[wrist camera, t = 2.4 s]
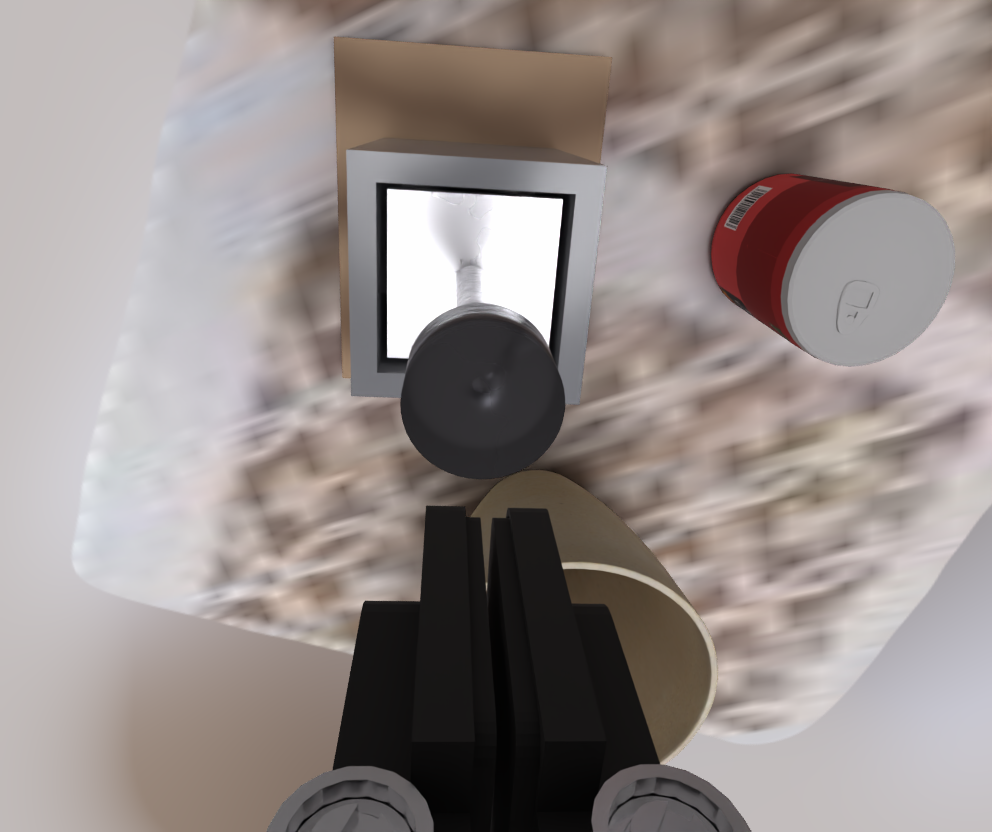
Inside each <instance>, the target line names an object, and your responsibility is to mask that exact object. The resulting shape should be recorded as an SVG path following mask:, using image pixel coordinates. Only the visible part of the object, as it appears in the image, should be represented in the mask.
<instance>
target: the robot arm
mask: <svg viewBox="0 0 992 832" xmlns="http://www.w3.org/2000/svg"><path fill="white" fill-rule="evenodd" d="M267 832H751V830H750V828H749V827H748V825H747V823H746V821H745V820H744V818H743V817H742V816H741V814H740V813H739V812H738V811H737V809H736V808H735V807H734V805H733V804H732V803H731V801H730V800H729V799H728V798H727V797H726V796H725V795H723V794H722V793H721V792H720V791H719V790H717V789H716V788H715V787H714V786H712V785H711V784H710V783H709V782H707V781H705V780H704V779H702V778H700V777H698V776H696V775H694V774H692V773H690V772H688V771H686V770H682V769H678V768H674V767H670V766H667V765H663V764H660V761H659V758H658V755H657V752H656V749H655V746H654V743H653V740H652V737H651V734H650V731H649V728H648V725H647V722H646V719H645V716H644V713H643V710H642V707H641V704H640V701H639V698H638V694H637V691H636V688H635V685H634V682H633V679H632V676H631V673H630V670H629V667H628V664H627V661H626V658H625V655H624V652H623V649H622V646H621V643H620V640H619V637H618V634H617V631H616V627H615V624H614V621H613V618H612V615H611V613H610V611H609V608H608V607H607V606H606V605H605V604H580V603H571V599H570V595H569V591H568V587H567V583H566V579H565V575H564V571H563V567H562V563H561V559H560V555H559V551H558V547H557V543H556V540H555V536H554V532H553V528H552V524H551V520H550V516H549V512H548V510H547V509H546V508H508V509H507V513H506V518H492V523H491V537H490V551H489V566H488V581H487V593H486V581H485V568H484V555H483V542H482V529H481V518H480V517H466V510H465V507H460V506H426V517H425V533H424V549H423V565H422V581H421V597H420V602H418V601H365V602H364V603H363V607H362V611H361V617H360V622H359V628H358V633H357V638H356V644H355V649H354V655H353V660H352V666H351V671H350V677H349V683H348V688H347V694H346V699H345V705H344V710H343V716H342V721H341V726H340V732H339V737H338V743H337V749H336V754H335V759H334V765H333V770H332V771H329V772H325V773H323V774H321V775H319V776H317V777H316V778H314V779H312V780H310V781H308V782H307V783H305V784H303V785H301V786H300V787H299V788H298V789H297V790H296V791H295V792H294V793H293V794H292V795H291V796H290V797H289V798H288V799H287V800H286V801H284V802H283V804H282V805H281V807H280V808H279V810H278V812H277V813H276V815H275V817H274V818H273V820H272V822H271V823H270V825H269V827H268V829H267Z"/></svg>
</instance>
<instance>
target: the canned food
mask: <svg viewBox="0 0 992 832" xmlns="http://www.w3.org/2000/svg"><path fill="white" fill-rule="evenodd" d="M711 259H712V267H713V272H714V275H715V278H716V281H717V283H718V285H719V287H720V288H721V290H722V292H723V293H724V294H725V295H726V296H727V297H728V298H729V299H730V301H732V302H733V303H735V304H736V305H737V306H739V307H740V308H742V309H743V310H745V311H746V312H748V313H749V314H750V315H752V316H753V317H755V318H756V319H758V320H759V321H761V322H762V323H763V324H765V325H766V326H768V327H769V328H771V329H772V330H774V331H775V332H776V333H778V334H779V335H781V336H782V337H784V338H785V339H787V340H788V341H789V342H791V343H792V344H794V345H795V346H797V347H799V348H800V349H802V350H803V351H805V352H807V353H808V354H810V355H811V356H813V357H814V358H817V359H820V360H822V361H825V362H828V363H830V364H833V365H839V366H848V367H851V366H863V365H868V364H871V363H875V362H879V361H882V360H884V359H886V358H888V357H890V356H892V355H894V354H896V353H898V352H899V351H901V350H902V349H904V348H905V347H907V346H908V345H910V344H911V343H912V342H913V341H914V340H915V339H916V338H918V337H919V336H920V335H921V334H922V333H923V332H924V331H925V330H926V328H927V327H928V326H929V325H930V324H931V322H932V321H933V320H934V319H935V317H936V316H937V314H938V312H939V311H940V309H941V307H942V305H943V304H944V302H945V300H946V297H947V295H948V292H949V289H950V287H951V284H952V279H953V274H954V270H955V248H954V242H953V237H952V234H951V232H950V229H949V227H948V225H947V223H946V221H945V220H944V218H943V217H942V216H941V214H940V213H939V212H938V211H937V210H936V209H935V208H934V207H932V206H931V205H930V204H928V203H927V202H926V201H924V200H922V199H919V198H917V197H914V196H912V195H910V194H907V193H905V192H900V191H894V190H891V189H886V188H879V187H873V186H867V185H861V184H855V183H848V182H842V181H836V180H830V179H824V178H818V177H811V176H805V175H798V174H780V175H775V176H772V177H769V178H765V179H763V180H761V181H759V182H757V183H755V184H753V185H752V186H750V187H748V188H747V189H746V190H744V191H743V192H742V193H741V194H739V195H738V196H737V197H736V198H735V199H734V200H733V201H732V202H731V203H730V204H729V206H728V207H727V208H726V210H725V211H724V213H723V215H722V216H721V218H720V220H719V222H718V224H717V227H716V229H715V232H714V236H713V240H712V248H711Z"/></svg>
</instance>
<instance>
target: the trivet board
mask: <svg viewBox="0 0 992 832" xmlns="http://www.w3.org/2000/svg"><path fill="white" fill-rule="evenodd" d="M611 63H612V57H600V56H587V55H574V54H560V53H547V52H534V51H520V50H507V49H493V48H480V47H467V46H453V45H440V44H426V43H413V42H400V41H386V40H373V39H359V38H346V37H334V64H335V104H336V143H337V182H338V221H339V260H340V299H341V338H342V377H343V378H351V360H350V311H349V263H348V214H347V166H346V149H350V148H353V147H356V146H359V145H362V144H366V143H369V142H372V141H375V140H378V139H381V138H401V139H416V140H432V141H447V142H463V143H478V144H494V145H509V146H525V147H540V148H555V149H558V150H561V151H564V152H567V153H570V154H573V155H576V156H579V157H582V158H585V159H588V160H591V161H594V162H597V163H600V160H601V151H602V142H603V133H604V124H605V116H606V107H607V98H608V89H609V80H610V71H611Z"/></svg>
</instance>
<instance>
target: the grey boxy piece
mask: <svg viewBox="0 0 992 832" xmlns="http://www.w3.org/2000/svg"><path fill="white" fill-rule="evenodd" d="M346 166H347V214H348V263H349V311H350V360H351V396H365V397H392V398H401V392H402V387H403V382H404V377H405V372H406V367H407V362H408V358H387V189H388V188H389V187H398V188H415V189H432V190H449V191H466V192H482V193H499V194H516V195H533V196H550V197H560V198H562V199H563V202H562V213H561V223H560V234H559V244H558V254H557V265H556V275H555V286H554V296H553V307H552V317H551V328H550V338H549V349H550V351H551V354H552V356H553V359H554V361H555V364H556V366H557V369H558V371H559V374H560V376H561V379H562V382H563V386H564V392H565V404H576V405H579V403H580V395H581V386H582V378H583V369H584V361H585V352H586V344H587V335H588V327H589V318H590V310H591V301H592V293H593V284H594V276H595V267H596V259H597V250H598V242H599V233H600V224H601V216H602V207H603V199H604V190H605V182H606V173H607V166H606V165H603V164H600V163H597V162H594V161H591V160H588V159H585V158H582V157H579V156H576V155H573V154H570V153H567V152H564V151H561V150H558V149H555V148H540V147H525V146H509V145H494V144H478V143H463V142H447V141H432V140H416V139H401V138H381V139H378V140H375V141H372V142H369V143H366V144H362V145H359V146H356V147H353V148H350V149H346Z"/></svg>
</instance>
